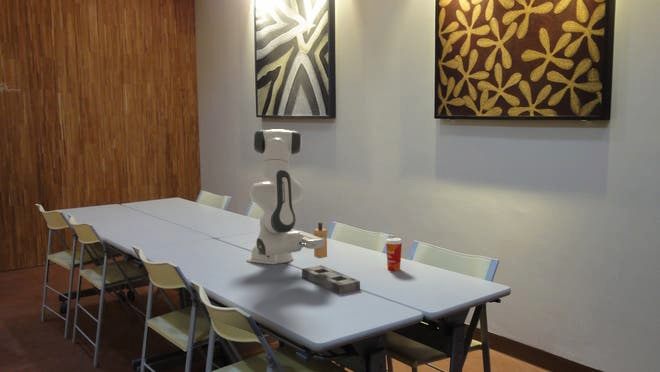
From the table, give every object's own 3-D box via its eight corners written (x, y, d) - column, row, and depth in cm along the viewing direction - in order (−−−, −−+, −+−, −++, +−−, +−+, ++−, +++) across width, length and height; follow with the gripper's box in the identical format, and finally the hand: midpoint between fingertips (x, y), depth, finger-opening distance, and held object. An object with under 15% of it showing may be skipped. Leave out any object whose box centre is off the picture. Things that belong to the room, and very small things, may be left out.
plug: (314, 256, 256) (313, 222, 253) (322, 255, 258) (321, 221, 256) (319, 258, 252) (318, 224, 250) (327, 257, 254) (326, 223, 252)
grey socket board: (302, 276, 260) (302, 268, 260) (321, 272, 265) (321, 265, 265) (339, 293, 235) (339, 285, 234) (360, 289, 240) (360, 281, 240)
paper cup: (382, 268, 272) (382, 238, 270) (397, 266, 274) (397, 237, 272) (390, 272, 264) (390, 242, 263) (405, 270, 267) (405, 240, 265)
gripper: (306, 238, 238) (335, 234, 245) (282, 229, 255) (310, 226, 262) (306, 253, 239) (335, 249, 246) (283, 244, 256) (310, 239, 263)
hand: (322, 237), depth 254 cm, fingers closed on plug, 4 cm apart
